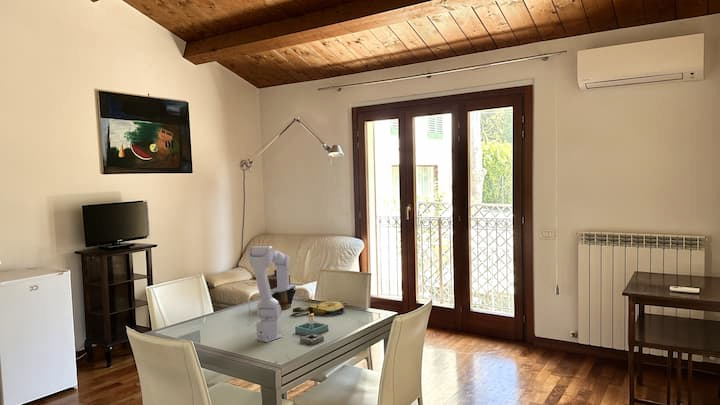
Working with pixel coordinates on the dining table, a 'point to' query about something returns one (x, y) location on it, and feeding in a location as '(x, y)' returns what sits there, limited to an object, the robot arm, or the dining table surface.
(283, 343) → the dining table surface
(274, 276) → the wooden container
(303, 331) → the tray
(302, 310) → the pulley block
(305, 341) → the pin bracket
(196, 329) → the dining table surface
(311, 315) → the pin
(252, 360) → the dining table surface
